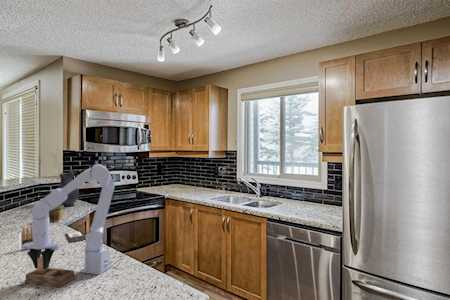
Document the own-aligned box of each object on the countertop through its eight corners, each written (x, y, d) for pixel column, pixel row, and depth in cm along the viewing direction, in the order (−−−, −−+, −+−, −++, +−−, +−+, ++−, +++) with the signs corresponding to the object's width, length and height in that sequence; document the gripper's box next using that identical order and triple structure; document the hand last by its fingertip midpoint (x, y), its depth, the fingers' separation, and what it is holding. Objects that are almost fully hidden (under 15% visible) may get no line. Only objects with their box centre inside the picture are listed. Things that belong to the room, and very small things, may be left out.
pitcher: (51, 207, 248) (50, 172, 247) (68, 203, 268) (68, 169, 268) (70, 208, 245) (69, 172, 244) (86, 203, 265) (85, 170, 265)
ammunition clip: (46, 245, 156) (45, 222, 155) (46, 246, 154) (46, 223, 154) (21, 250, 149) (20, 226, 149) (21, 251, 147) (21, 227, 147)
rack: (75, 277, 117) (75, 270, 117) (59, 287, 109) (59, 279, 109) (42, 273, 121) (42, 266, 121) (24, 282, 113) (24, 274, 113)
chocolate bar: (69, 242, 159) (65, 233, 173) (69, 243, 159) (65, 235, 173) (88, 238, 164) (82, 231, 179) (88, 240, 164) (82, 232, 179)
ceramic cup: (66, 219, 208) (66, 205, 208) (57, 223, 198) (57, 208, 198) (49, 219, 210) (49, 205, 210) (39, 223, 200) (39, 208, 200)
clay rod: (48, 271, 118) (47, 255, 117) (43, 274, 115) (43, 258, 114) (40, 270, 118) (40, 255, 118) (35, 274, 115) (35, 258, 115)
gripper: (65, 230, 119) (65, 263, 120) (30, 230, 120) (31, 263, 120) (54, 235, 112) (54, 271, 113) (17, 235, 113) (18, 270, 113)
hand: (41, 267), depth 116 cm, fingers closed on clay rod, 3 cm apart
